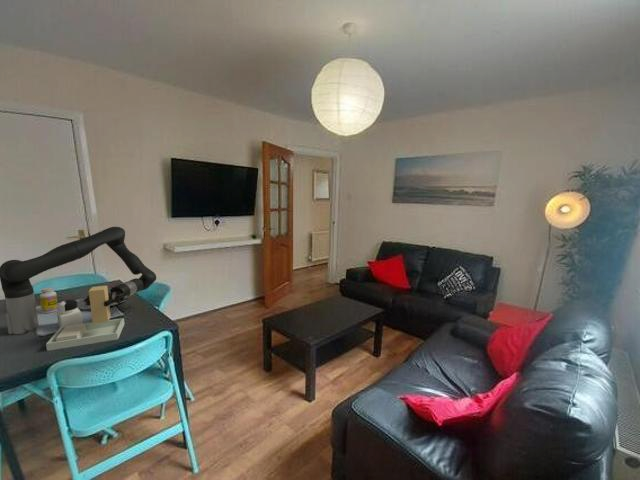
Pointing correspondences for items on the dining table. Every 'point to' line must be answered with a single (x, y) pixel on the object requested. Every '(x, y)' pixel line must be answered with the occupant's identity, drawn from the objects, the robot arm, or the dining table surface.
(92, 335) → the tray
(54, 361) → the dining table surface
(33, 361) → the dining table surface
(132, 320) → the dining table surface
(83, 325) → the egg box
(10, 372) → the dining table surface
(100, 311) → the juice carton
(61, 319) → the container
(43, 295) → the supplement bottle
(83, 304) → the food plate
